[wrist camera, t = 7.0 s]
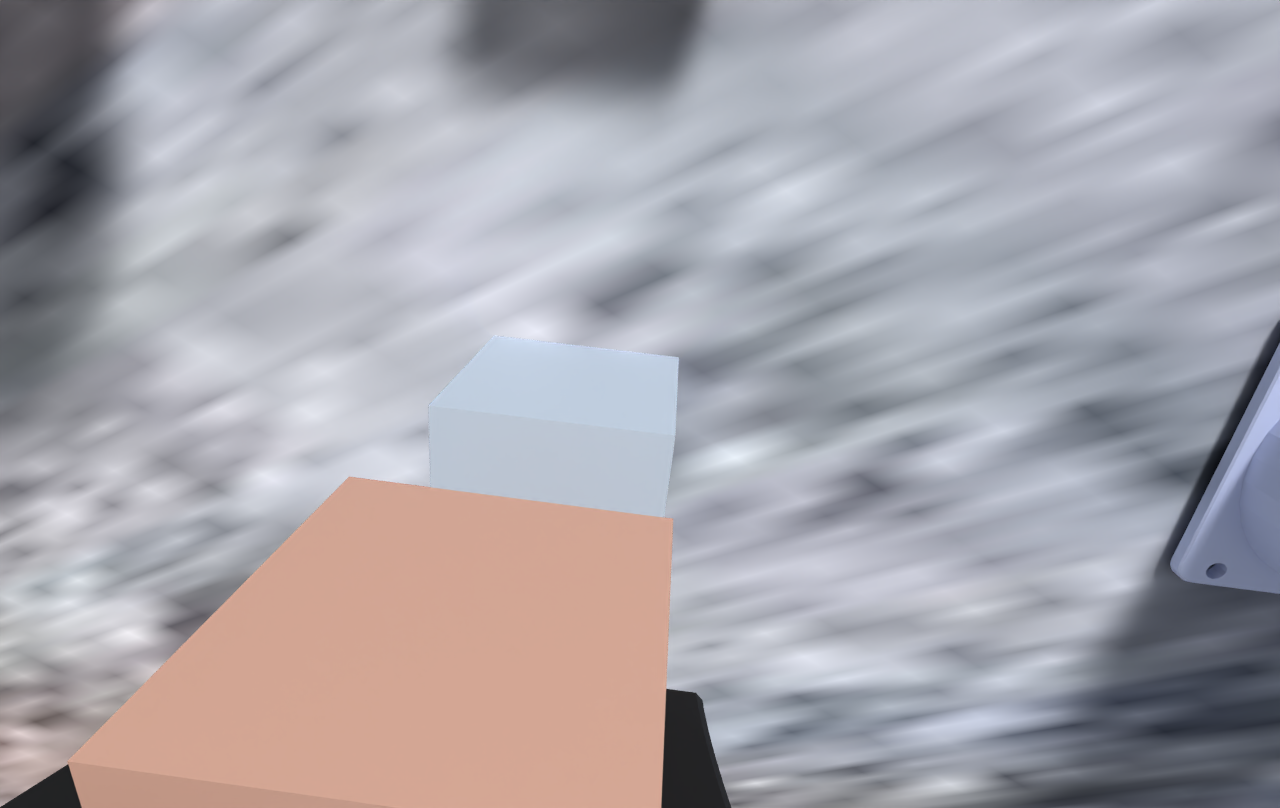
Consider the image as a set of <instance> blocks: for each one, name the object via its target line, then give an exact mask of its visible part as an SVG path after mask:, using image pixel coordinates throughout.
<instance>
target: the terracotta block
mask: <svg viewBox="0 0 1280 808" xmlns="http://www.w3.org/2000/svg"><path fill="white" fill-rule="evenodd" d="M672 534H673V519H671V518H664V517H656V516H648V515H640V514H633V513H625V512H617V511H610V510H602V509H594V508H586V507H579V506H571V505H563V504H556V503H548V502H540V501H532V500H525V499H517V498H509V497H502V496H494V495H486V494H478V493H471V492H463V491H455V490H448V489H440V488H432V487H424V486H417V485H409V484H401V483H394V482H386V481H378V480H370V479H363V478H355V477H348V478H347V479H346V480H345V481H344V482H343V483H342V484H341V485H340V486H339V487H338V488H337V489H336V490H335V491H334V492H333V493H332V494H331V496H330V497H329V498H328V499H327V500H326V501H325V502H324V503H323V504H322V505H321V506H320V507H319V508H318V509H317V510H316V511H315V512H314V513H313V514H312V515H311V516H310V517H309V518H308V519H307V520H306V521H305V522H304V523H303V524H302V525H301V526H300V527H299V528H298V529H297V530H296V531H295V532H294V533H293V534H292V535H291V536H290V537H289V538H288V539H287V540H286V541H285V542H284V543H283V544H282V545H281V546H280V547H279V548H278V549H277V550H276V551H275V552H274V553H273V554H272V555H271V556H270V557H269V558H268V559H267V560H266V561H265V562H264V563H263V564H262V565H261V566H260V567H259V568H258V569H257V570H256V571H255V572H254V573H253V574H252V575H251V576H250V577H249V578H248V579H247V580H246V581H245V582H244V583H243V584H242V585H241V586H240V587H239V588H238V589H237V591H236V592H235V593H234V594H233V595H232V596H231V597H230V598H229V599H228V600H227V601H226V602H225V603H224V604H223V605H222V606H221V607H220V608H219V609H218V610H217V611H216V612H215V613H214V614H213V615H212V616H211V617H210V618H209V619H208V620H207V621H206V622H205V623H204V624H203V625H202V626H201V627H200V628H199V629H198V630H197V631H196V632H195V633H194V634H193V635H192V636H191V637H190V638H189V639H188V640H187V641H186V642H185V643H184V644H183V645H182V646H181V647H180V648H179V649H178V650H177V651H176V652H175V653H174V654H173V655H172V656H171V657H170V658H169V659H168V660H167V661H166V662H165V663H164V664H163V665H162V666H161V667H160V668H159V669H158V670H157V671H156V672H155V673H154V674H153V675H152V676H151V677H150V678H149V679H148V680H147V681H146V682H145V683H144V684H143V685H142V687H141V688H140V689H139V690H138V691H137V692H136V693H135V694H134V695H133V696H132V697H131V698H130V699H129V700H128V701H127V702H126V703H125V704H124V705H123V706H122V707H121V708H120V709H119V710H118V711H117V712H116V713H115V714H114V715H113V716H112V717H111V718H110V719H109V720H108V721H107V722H106V723H105V724H104V725H103V726H102V727H101V728H100V729H99V730H98V731H97V732H96V733H95V734H94V735H93V736H92V737H91V738H90V739H89V740H88V741H87V742H86V743H85V744H84V745H83V746H82V747H81V748H80V749H79V750H78V751H77V752H76V753H75V754H74V755H73V756H72V757H71V758H70V759H69V760H68V761H67V762H68V765H69V768H70V771H71V774H72V778H73V781H74V784H75V787H76V791H77V794H78V797H79V800H80V803H81V807H82V808H661V801H662V777H663V753H664V728H665V704H666V680H667V656H668V631H669V607H670V583H671V559H672Z"/></svg>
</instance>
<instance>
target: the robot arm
mask: <svg viewBox="0 0 1280 808" xmlns="http://www.w3.org/2000/svg"><path fill="white" fill-rule="evenodd" d="M1215 563H1216V564H1215ZM1213 564H1215V565H1214V566H1213V567H1212V568H1210V569H1208V568H1209V567H1210V566H1211V565H1213ZM1170 566H1171V569H1172V571H1173V572H1175V573H1176V574H1177V575H1178V576H1179V577H1180V578H1181V579H1182V580H1184V581H1187V582H1191V583H1199V584H1207V585H1214V586H1222V587H1230V588H1237V589H1245V590H1253V591H1261V592H1268V593H1276V594H1280V343H1279V345H1278V347H1277V349H1276V351H1275V353H1274V355H1273V357H1272V359H1271V361H1270V363H1269V365H1268V367H1267V369H1266V371H1265V373H1264V375H1263V377H1262V379H1261V381H1260V383H1259V385H1258V387H1257V389H1256V391H1255V393H1254V395H1253V397H1252V399H1251V401H1250V403H1249V405H1248V407H1247V409H1246V411H1245V413H1244V415H1243V417H1242V419H1241V421H1240V423H1239V425H1238V427H1237V429H1236V431H1235V433H1234V435H1233V437H1232V439H1231V441H1230V443H1229V445H1228V447H1227V449H1226V451H1225V453H1224V455H1223V457H1222V459H1221V461H1220V463H1219V465H1218V467H1217V469H1216V471H1215V473H1214V475H1213V477H1212V479H1211V481H1210V483H1209V485H1208V487H1207V489H1206V491H1205V493H1204V495H1203V497H1202V499H1201V501H1200V503H1199V505H1198V507H1197V509H1196V511H1195V513H1194V515H1193V517H1192V519H1191V521H1190V523H1189V525H1188V527H1187V529H1186V531H1185V533H1184V535H1183V537H1182V539H1181V541H1180V543H1179V545H1178V547H1177V549H1176V551H1175V553H1174V555H1173V557H1172V559H1171V563H1170ZM1207 569H1208V570H1207ZM0 808H82V807H81V803H80V800H79V797H78V794H77V791H76V787H75V784H74V781H73V778H72V774H71V771H70V768H69V765H66V766H65V767H63V768H62V769H60V770H58V771H57V772H55V773H54V774H52V775H50V776H49V777H47V778H46V779H44V780H43V781H41V782H39V783H38V784H36V785H35V786H33V787H32V788H30V789H28V790H27V791H25V792H24V793H22V794H20V795H19V796H17V797H16V798H14V799H13V800H11V801H9V802H8V803H6V804H5V805H3V806H1V807H0ZM661 808H731V805H730V802H729V799H728V796H727V793H726V790H725V787H724V784H723V781H722V777H721V774H720V771H719V768H718V764H717V761H716V758H715V754H714V750H713V747H712V743H711V739H710V735H709V731H708V727H707V722H706V718H705V713H704V708H703V701H702V699H701V698H700V697H699V696H698V695H697V694H696V693H693V692H685V691H678V690H671V689H666V704H665V728H664V753H663V777H662V801H661Z"/></svg>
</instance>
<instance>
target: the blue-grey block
mask: <svg viewBox="0 0 1280 808" xmlns="http://www.w3.org/2000/svg"><path fill="white" fill-rule="evenodd" d="M678 363H679V357H671V356H663V355H655V354H646V353H638V352H629V351H621V350H612V349H604V348H596V347H587V346H579V345H570V344H562V343H554V342H545V341H537V340H528V339H520V338H512V337H503V336H495V335H494V336H493V337H492V338H491V340H490V341H489V342H488V343H487V344H486V345H485V346H484V347H483V348H482V349H481V350H480V351H479V352H478V353H477V354H476V355H475V357H474V358H473V359H472V360H471V361H470V362H469V363H468V364H467V365H466V366H465V367H464V368H463V369H462V370H461V371H460V372H459V374H458V375H457V376H456V377H455V378H454V379H453V380H452V381H451V382H450V383H449V384H448V385H447V386H446V387H445V388H444V389H443V391H442V392H441V393H440V394H439V395H438V396H437V397H436V398H435V399H434V400H433V401H432V402H431V403H430V404H429V405H428V414H429V456H430V487H432V488H440V489H448V490H455V491H463V492H471V493H478V494H486V495H494V496H502V497H509V498H517V499H525V500H532V501H540V502H548V503H556V504H563V505H571V506H579V507H586V508H594V509H602V510H610V511H617V512H625V513H633V514H640V515H648V516H656V517H664V515H665V508H666V501H667V493H668V486H669V478H670V471H671V464H672V456H673V449H674V442H675V431H676V409H677V386H678Z"/></svg>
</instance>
